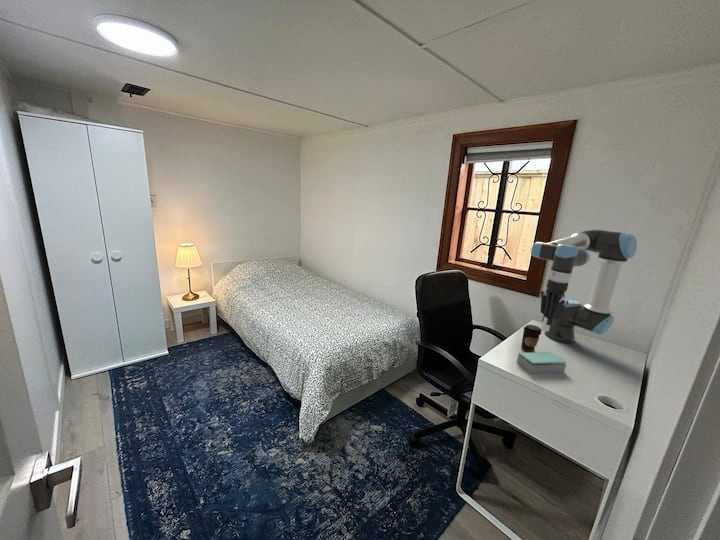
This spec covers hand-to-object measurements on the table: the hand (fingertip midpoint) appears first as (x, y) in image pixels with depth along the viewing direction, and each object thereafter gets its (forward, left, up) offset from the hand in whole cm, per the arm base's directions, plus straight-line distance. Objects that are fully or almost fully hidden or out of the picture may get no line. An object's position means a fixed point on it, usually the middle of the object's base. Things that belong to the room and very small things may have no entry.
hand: (544, 330), depth 133 cm
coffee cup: (-11, -18, -20) cm, 29 cm away
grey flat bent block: (-5, -2, -20) cm, 21 cm away
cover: (-5, -2, -16) cm, 17 cm away
